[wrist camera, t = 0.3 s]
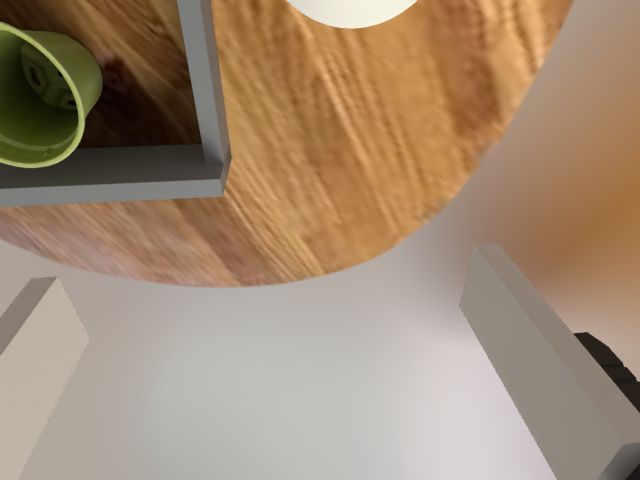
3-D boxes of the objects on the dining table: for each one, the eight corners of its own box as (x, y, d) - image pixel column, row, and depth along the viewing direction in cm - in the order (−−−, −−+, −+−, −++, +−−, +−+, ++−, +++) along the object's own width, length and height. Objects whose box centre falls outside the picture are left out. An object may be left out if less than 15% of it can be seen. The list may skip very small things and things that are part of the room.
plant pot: (37, 136, 35) (-23, 177, 28) (-29, 17, 30) (-125, 30, 23) (141, 119, 35) (107, 156, 28) (93, -3, 30) (36, 4, 23)
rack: (-220, -126, 25) (-399, -162, 18) (193, -120, 27) (167, -151, 20) (-51, 169, 36) (-124, 213, 29) (231, 157, 38) (222, 196, 31)
